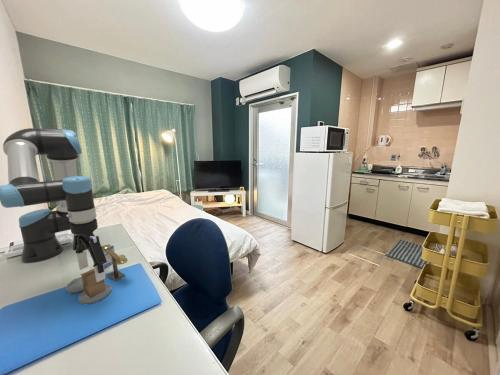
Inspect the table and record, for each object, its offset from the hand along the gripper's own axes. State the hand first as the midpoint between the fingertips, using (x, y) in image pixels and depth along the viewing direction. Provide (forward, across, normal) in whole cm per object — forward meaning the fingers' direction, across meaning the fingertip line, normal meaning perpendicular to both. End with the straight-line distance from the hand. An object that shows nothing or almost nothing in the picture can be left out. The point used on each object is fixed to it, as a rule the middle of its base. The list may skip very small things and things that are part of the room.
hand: (92, 273), depth 78 cm
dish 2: (+9, +1, 0) cm, 9 cm away
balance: (+9, -4, +10) cm, 14 cm away
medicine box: (+9, -18, +12) cm, 24 cm away
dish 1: (+9, -10, 0) cm, 14 cm away
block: (+7, 0, 0) cm, 7 cm away
